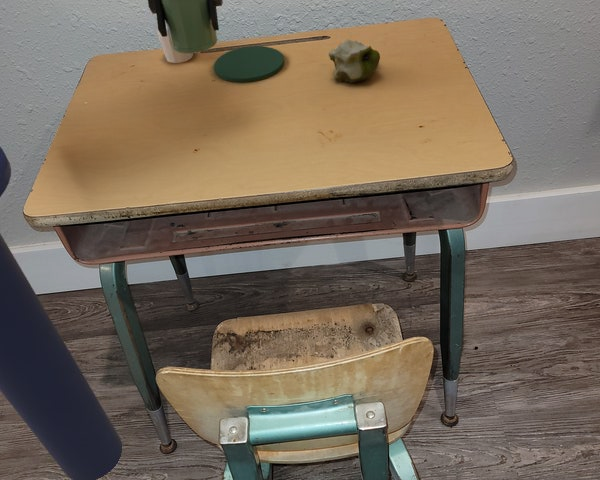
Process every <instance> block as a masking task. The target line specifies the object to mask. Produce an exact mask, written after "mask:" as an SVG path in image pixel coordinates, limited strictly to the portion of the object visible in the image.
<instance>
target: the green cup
mask: <svg viewBox="0 0 600 480" xmlns="http://www.w3.org/2000/svg"><path fill="white" fill-rule="evenodd" d="M160 1H161V5H162V9H163V13H164V17H165V21H166V25H167V29H168V33H169V38H170V42H171V44H172V48H173V49H174V50H175V51H177V52H180V53H193V54H196V53H202V52H204V51H208V50H209V49H212V48H213V47H214V46H216V44H217V43H218V35H217V30H216V31H214V29H213V26H212V23H211V14H210V6H209V0H160Z"/></svg>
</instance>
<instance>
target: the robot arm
mask: <svg viewBox="0 0 600 480" xmlns="http://www.w3.org/2000/svg"><path fill="white" fill-rule="evenodd" d="M223 3H224V1H223V0H209V6H210V14H211V23H212V26H213V29H214V31H216V32H217V31H220V27H219V18H218V10H217V7H222V6H223ZM147 5H148V8H149V10H150V12H151V13H152V15H156V23H158V30H159V32H160V34H161V35H162V37H166V36H167V31H166V22H165V17H164V13H163V9H162V5H161V1H160V0H147Z"/></svg>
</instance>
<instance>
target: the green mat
mask: <svg viewBox="0 0 600 480" xmlns="http://www.w3.org/2000/svg"><path fill="white" fill-rule="evenodd" d="M284 65H285V57H284V55H283V53H282V52H281V51H280V50H278V49H276V48H273V47H268V46H262V45H253V46H252V45H251V46H243V47H239V48H235V49H232V50H229V51H227V52H225V53H223V54H221V55H220V56H219V57H217V59H216V60H215V61H214V64H213V70H214V73H215V74H216V76H217V77H219V78H220V79H222V80H225V81H227V82H233V83H252V82H257V81H261V80H264V79H267V78H270V77H273V76H274V75H276V74H277V73H279V72H280V71H281V70H282V69H283V67H284Z"/></svg>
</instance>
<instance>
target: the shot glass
mask: <svg viewBox="0 0 600 480" xmlns="http://www.w3.org/2000/svg"><path fill="white" fill-rule="evenodd" d="M165 22H166V21H165ZM154 29H155V31H156V33H157V37H158V40H159V42H160V46H161V49H162V51H163V54H164V57H165V59H166V62H168V63H171V64H181V63H185V62H187V61H190V60H191V59H192V58H193V57H194V53H180V52H177V51H175V50H174V49H173V48H172V44H171V42H170V38H169V33H168V29H167V25H166V31H167V36H166V37H162V35H161V34H160V32H159V30H158V23H157V22H155V24H154Z"/></svg>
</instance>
